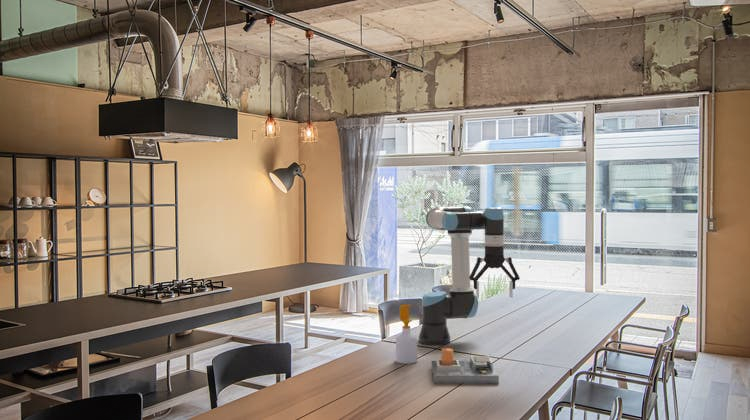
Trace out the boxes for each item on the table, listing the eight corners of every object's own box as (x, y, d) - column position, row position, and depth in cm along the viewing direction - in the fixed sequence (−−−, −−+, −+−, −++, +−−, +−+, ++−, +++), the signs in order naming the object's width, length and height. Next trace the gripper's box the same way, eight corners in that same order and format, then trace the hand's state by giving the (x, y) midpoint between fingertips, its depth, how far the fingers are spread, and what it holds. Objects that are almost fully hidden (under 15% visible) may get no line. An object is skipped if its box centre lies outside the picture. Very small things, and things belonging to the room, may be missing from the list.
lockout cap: (441, 365, 245) (441, 348, 244) (452, 365, 244) (452, 348, 244) (442, 369, 240) (441, 351, 240) (453, 369, 240) (453, 351, 240)
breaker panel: (431, 368, 252) (431, 352, 252) (490, 367, 251) (490, 352, 251) (434, 383, 232) (434, 367, 232) (498, 383, 231) (498, 367, 231)
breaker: (473, 362, 246) (473, 356, 247) (486, 362, 246) (485, 356, 247) (476, 361, 238) (476, 355, 238) (489, 361, 237) (489, 355, 238)
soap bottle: (399, 365, 257) (399, 306, 256) (393, 359, 265) (392, 302, 264) (420, 363, 259) (419, 305, 258) (413, 357, 268) (412, 301, 267)
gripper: (464, 246, 248) (464, 298, 249) (526, 246, 247) (527, 298, 248) (462, 244, 255) (462, 295, 256) (523, 244, 254) (523, 295, 255)
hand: (494, 297), depth 252 cm, fingers open, 13 cm apart
